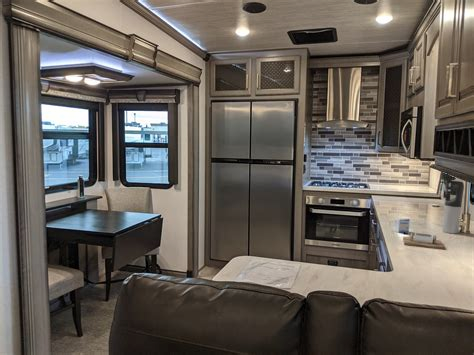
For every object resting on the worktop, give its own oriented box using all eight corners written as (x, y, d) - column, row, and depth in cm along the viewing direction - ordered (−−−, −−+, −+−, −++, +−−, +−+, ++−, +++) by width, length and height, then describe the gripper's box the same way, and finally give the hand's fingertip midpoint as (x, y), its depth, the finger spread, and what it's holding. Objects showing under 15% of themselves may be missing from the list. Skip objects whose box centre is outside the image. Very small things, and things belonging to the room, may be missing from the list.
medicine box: (398, 233, 237) (399, 219, 236) (393, 231, 241) (394, 218, 240) (408, 232, 239) (410, 219, 238) (404, 230, 243) (405, 217, 242)
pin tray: (402, 238, 224) (403, 230, 224) (440, 242, 217) (441, 234, 217) (404, 244, 211) (405, 235, 211) (444, 249, 204) (445, 240, 204)
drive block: (414, 239, 218) (414, 232, 218) (431, 241, 215) (432, 234, 214) (414, 241, 214) (414, 234, 213) (431, 244, 210) (432, 236, 210)
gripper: (439, 169, 221) (437, 196, 223) (443, 172, 208) (440, 201, 210) (454, 170, 218) (451, 197, 221) (458, 173, 205) (456, 202, 207)
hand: (446, 199), depth 215 cm, fingers open, 8 cm apart
